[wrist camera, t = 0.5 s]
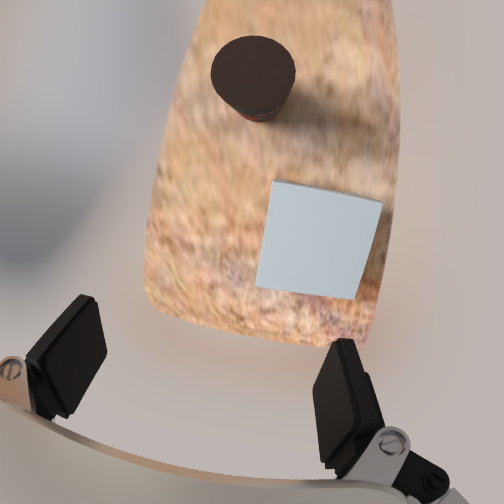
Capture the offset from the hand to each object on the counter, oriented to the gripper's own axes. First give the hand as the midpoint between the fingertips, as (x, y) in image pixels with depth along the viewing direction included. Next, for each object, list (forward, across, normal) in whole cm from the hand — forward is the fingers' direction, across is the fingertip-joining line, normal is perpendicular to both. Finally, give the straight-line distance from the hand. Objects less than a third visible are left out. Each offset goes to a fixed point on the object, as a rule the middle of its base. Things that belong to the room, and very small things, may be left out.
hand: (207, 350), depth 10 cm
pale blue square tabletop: (+27, -8, +3) cm, 29 cm away
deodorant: (+28, +1, -12) cm, 30 cm away
